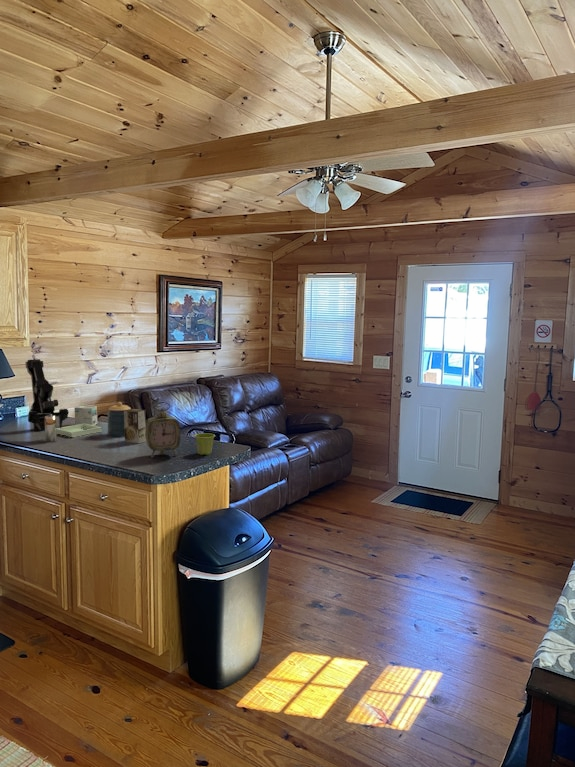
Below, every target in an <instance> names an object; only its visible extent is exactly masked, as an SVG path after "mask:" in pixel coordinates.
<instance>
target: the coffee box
mask: <svg viewBox="0 0 575 767" xmlns="http://www.w3.org/2000/svg"><path fill="white" fill-rule="evenodd" d="M146 411H147V410H146V409H137V408H131V409H129V410H125V411H124V426H125V436H124V442H126V443H133V444H142V443H145V442H147V441H146V434H145V431H146V422H147V417H146V416H147V413H146Z"/></svg>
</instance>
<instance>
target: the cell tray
mask: <svg viewBox="0 0 575 767" xmlns="http://www.w3.org/2000/svg"><path fill="white" fill-rule="evenodd" d="M81 428H82V429H81ZM83 428H87V430H83ZM102 430H103V428H102V426H97V425H89V424H78V425H75V424H73V425H68V426H62V427H61V429H60V427H56V435H58V434H61V435H60V436H62V435H66V436H70V437H75V438H77V437H76V436H80V437H82V436H81V435H85V434H90V433H96V432H101V433H102ZM96 434H97V433H96ZM90 435H91V434H90ZM66 436H65V437H66ZM85 436H86V435H85ZM70 437H69V438H70Z"/></svg>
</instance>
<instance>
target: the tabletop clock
mask: <svg viewBox="0 0 575 767" xmlns="http://www.w3.org/2000/svg"><path fill="white" fill-rule="evenodd" d="M160 404H161V405H162V404H166V405H168V408H165V409H164V407H161V408H160V409H158V408H157V406H158V405H160ZM169 409H171V405H170V403H168V402H166V401H158V402H157V403H155V405H154V410H156V411H157V412H158V413H156V416H153V417H149V418H148V419H146V431H145V434H146V441H145V442H146V443H147V446H148V447H149V449H150V450H152V454H150V458H152V459H153V458H154V457H155V455H154V454H155V451H156V452H157V451H158V452H159V451H160V452H159V454H160V455H161V456H162V455H164V451H169V450H172V452H173V456H175V457H176V456H178V452H177V451H176V450H175V449H177V448H179V445H180V443H181V427H180V422H179V420H178V419H177V418H175V417H174V416H171V415H170V416H169V415H168V413H167V412H166V411H168V410H169Z"/></svg>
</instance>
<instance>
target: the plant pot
mask: <svg viewBox="0 0 575 767" xmlns="http://www.w3.org/2000/svg"><path fill="white" fill-rule="evenodd" d="M215 437H216V435H215V434H214V433H205V432H202V433H197V434H194V438H195V441H196V446H197V447H196V448H197V454H199V455H200V456H202V455H206V456H208V455H211V454H212V450H213V444H214V440H215V439H214V438H215Z"/></svg>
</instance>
